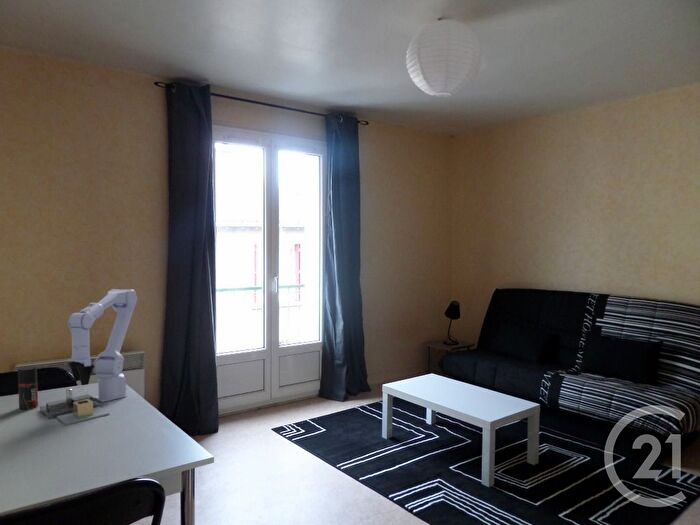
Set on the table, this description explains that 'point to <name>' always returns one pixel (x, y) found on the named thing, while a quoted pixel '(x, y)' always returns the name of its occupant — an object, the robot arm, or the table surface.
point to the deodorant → (27, 387)
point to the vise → (64, 405)
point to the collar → (83, 408)
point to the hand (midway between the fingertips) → (81, 382)
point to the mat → (72, 419)
